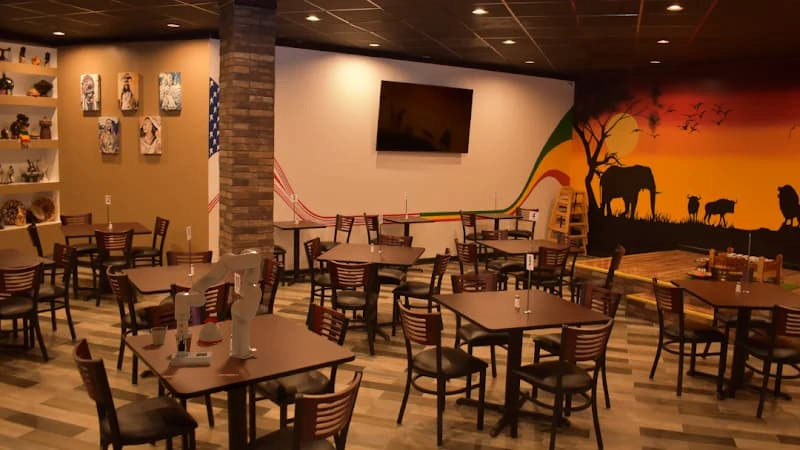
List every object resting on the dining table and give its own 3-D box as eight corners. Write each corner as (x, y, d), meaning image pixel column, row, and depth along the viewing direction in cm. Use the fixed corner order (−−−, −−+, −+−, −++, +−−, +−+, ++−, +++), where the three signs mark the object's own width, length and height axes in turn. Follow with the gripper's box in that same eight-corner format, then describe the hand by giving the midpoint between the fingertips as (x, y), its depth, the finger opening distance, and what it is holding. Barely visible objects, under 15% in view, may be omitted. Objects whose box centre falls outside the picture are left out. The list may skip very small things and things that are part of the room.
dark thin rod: (206, 366, 359) (206, 364, 358) (206, 367, 358) (206, 365, 358) (177, 369, 353) (177, 367, 353) (177, 369, 352) (177, 367, 352)
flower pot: (170, 341, 400) (170, 327, 400) (162, 346, 391) (163, 331, 390) (154, 340, 401) (154, 326, 400) (147, 345, 392) (147, 330, 391)
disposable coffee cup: (174, 356, 373) (174, 335, 372) (175, 351, 383) (175, 330, 381) (192, 355, 376) (192, 334, 375) (192, 350, 385) (193, 330, 384)
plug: (186, 357, 363) (186, 338, 362) (185, 359, 359) (185, 340, 358) (177, 357, 362) (177, 338, 361) (176, 359, 358) (176, 341, 357)
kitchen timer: (218, 344, 399) (219, 319, 398) (195, 343, 399) (195, 318, 398) (225, 338, 413) (225, 314, 411) (202, 337, 413) (203, 313, 412)
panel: (211, 360, 369) (211, 351, 368) (210, 366, 359) (210, 357, 359) (173, 361, 365) (173, 352, 364) (171, 367, 355) (171, 358, 355)
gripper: (188, 319, 351) (187, 354, 353) (191, 312, 367) (190, 345, 369) (173, 320, 349) (172, 354, 351) (176, 312, 365) (176, 345, 367)
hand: (181, 349), depth 360 cm, fingers closed on plug, 4 cm apart
